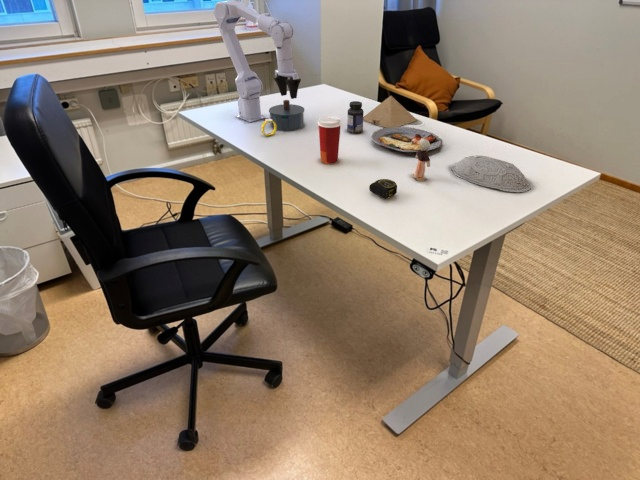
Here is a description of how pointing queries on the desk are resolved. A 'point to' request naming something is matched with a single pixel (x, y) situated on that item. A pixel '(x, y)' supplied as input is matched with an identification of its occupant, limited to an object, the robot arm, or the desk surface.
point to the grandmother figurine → (422, 160)
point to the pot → (288, 122)
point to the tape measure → (384, 188)
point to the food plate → (405, 139)
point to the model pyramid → (389, 114)
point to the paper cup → (329, 139)
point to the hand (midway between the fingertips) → (288, 96)
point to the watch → (268, 122)
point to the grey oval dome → (491, 173)
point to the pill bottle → (355, 117)
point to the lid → (286, 109)
